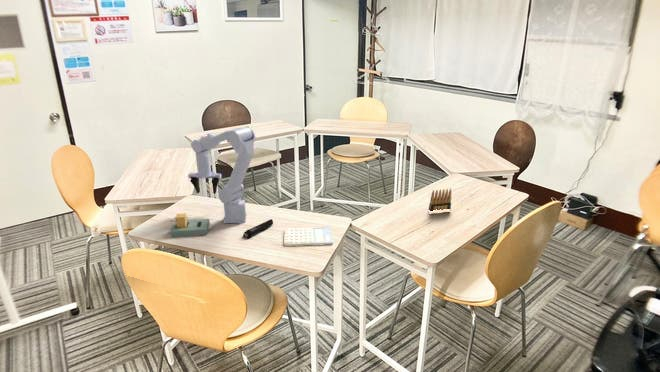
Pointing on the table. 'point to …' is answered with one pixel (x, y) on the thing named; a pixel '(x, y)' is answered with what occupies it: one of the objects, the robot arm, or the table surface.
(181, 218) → the square peg
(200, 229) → the socket plate
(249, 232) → the electric trimmer
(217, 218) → the table surface
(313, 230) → the calculator
